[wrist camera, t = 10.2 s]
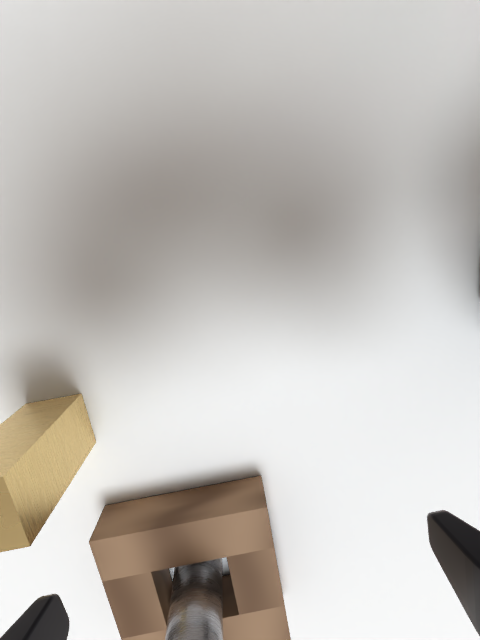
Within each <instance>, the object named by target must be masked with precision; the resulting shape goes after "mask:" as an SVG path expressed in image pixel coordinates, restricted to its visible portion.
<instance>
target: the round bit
mask: <svg viewBox="0 0 480 640" xmlns="http://www.w3.org/2000/svg"><path fill="white" fill-rule="evenodd" d="M165 640H223V586H222V558H219V559H214V560H209V561H204V562H199V563H194V564H189V565H184V566H178V567H175V570H174V578H173V585H172V592H171V600H170V607H169V614H168V622H167V629H166V636H165Z"/></svg>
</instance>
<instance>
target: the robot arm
mask: <svg viewBox="0 0 480 640" xmlns="http://www.w3.org/2000/svg"><path fill="white" fill-rule="evenodd" d="M427 522H428V533H429V542H430V545H431V548H432V550H433V552H434V554H435V556H436V558H437V560H438V562H439V563H440V565H441V567H442V569H443V571H444V573H445V574H446V576H447V578H448V580H449V582H450V584H451V585H452V587H453V589H454V591H455V593H456V595H457V596H458V598H459V600H460V602H461V604H462V606H463V608H464V609H465V611H466V613H467V615H468V617H469V618H470V620H471V622H472V624H473V626H474V627H475V629H476V631H477V632H478V634H479V636H480V531H479V530H477V529H476V528H474V527H472V526H471V525H469V524H467V523H466V522H464V521H463V520H461V519H459V518H458V517H456V516H454V515H453V514H451V513H449V512H448V511H445V510H440V511H436V512H431V513H429V514H428V516H427ZM68 632H69V617H68V615H67V613H66V610H65V608H64V606H63V603H62V601H61V599H60V597H59V596H58V595H57V594H51V595H47V596H42V597H40V598H38V599H37V600H36V601H35V602H34V603H33V604H32V605H31V606H30V607H29V608H28V609H27V610H26V611H25V612H24V613H23V614H22V615H21V617H20V618H19V619H18V620H17V621H16V622H15V623H14V624H13V625H12V626H11V627H10V628H9V629H8V630H7V632H6V633H5V634H4V635H3V636H2V637H1V638H0V640H67V636H68Z"/></svg>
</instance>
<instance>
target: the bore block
mask: <svg viewBox="0 0 480 640" xmlns="http://www.w3.org/2000/svg"><path fill="white" fill-rule="evenodd" d="M89 544H90V547H91V550H92V553H93V556H94V559H95V562H96V565H97V568H98V571H99V574H100V577H101V580H102V583H103V586H104V589H105V592H106V595H107V598H108V601H109V604H110V606H111V609H112V612H113V615H114V618H115V621H116V624H117V627H118V630H119V633H120V636H121V639H122V640H165V636H166V629H167V622H168V614H169V607H170V600H171V592H172V585H173V583H172V579H171V575H170V572H169V568H173V567H178V566H184V565H189V564H194V563H199V562H204V561H209V560H214V559H219V558H224V557H227V561H228V566H229V570H230V575H225V576H222V586H223V640H291V639H290V633H289V628H288V622H287V616H286V611H285V605H284V599H283V594H282V588H281V583H280V577H279V571H278V566H277V560H276V555H275V549H274V543H273V538H272V532H271V527H270V521H269V515H268V510H267V504H266V499H265V493H264V488H263V483H262V477H261V476H256V477H251V478H246V479H240V480H235V481H230V482H225V483H220V484H214V485H209V486H204V487H199V488H193V489H188V490H183V491H178V492H173V493H167V494H162V495H157V496H152V497H147V498H141V499H136V500H131V501H126V502H121V503H115V504H110V505H105V507H104V509H103V511H102V513H101V516H100V518H99V520H98V522H97V525H96V527H95V529H94V531H93V534H92V536H91V538H90V541H89Z"/></svg>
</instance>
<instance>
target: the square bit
mask: <svg viewBox="0 0 480 640" xmlns="http://www.w3.org/2000/svg"><path fill="white" fill-rule="evenodd" d="M95 443H96V440H95V436H94V433H93V430H92V427H91V423H90V420H89V417H88V413H87V410H86V407H85V404H84V400H83V397H82V394H76V395H71V396H65V397H60V398H54V399H49V400H44V401H38V402H33V403H27V404H25V405H24V406H23V407H21V408H20V409H19V410H18V411H16V412H15V413H14V414H13V415H12V416H10V417H9V418H8V419H7V420H5V421H4V422H3V423H2V424H0V552H3V551H9V550H14V549H19V548H24V547H29V546H31V544H32V543H33V541H34V539H35V538H36V536H37V535H38V533H39V532H40V530H41V528H42V527H43V525H44V524H45V522H46V521H47V519H48V517H49V516H50V514H51V513H52V511H53V509H54V508H55V506H56V505H57V503H58V502H59V500H60V498H61V497H62V495H63V494H64V492H65V491H66V489H67V487H68V486H69V484H70V483H71V481H72V479H73V478H74V476H75V475H76V473H77V472H78V470H79V468H80V467H81V465H82V464H83V462H84V460H85V459H86V457H87V456H88V454H89V453H90V451H91V449H92V448H93V446H94V445H95Z"/></svg>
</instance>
